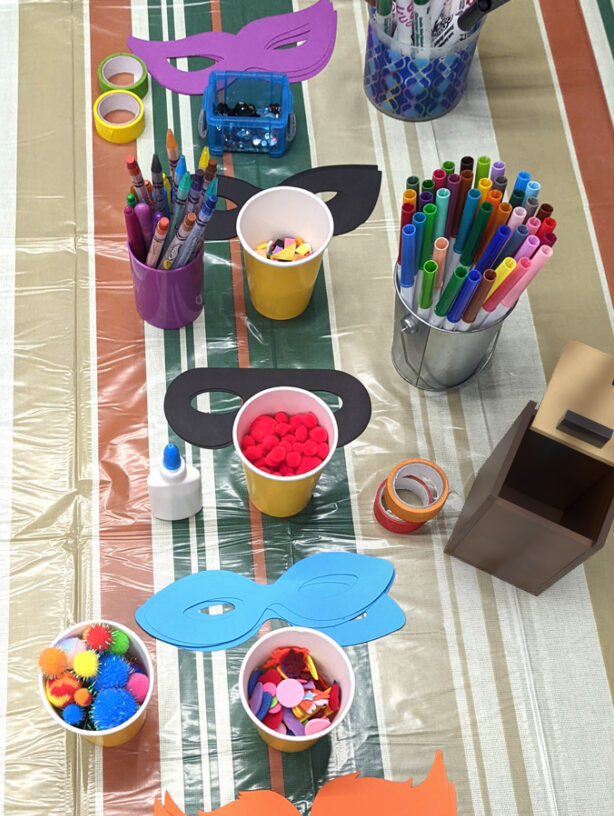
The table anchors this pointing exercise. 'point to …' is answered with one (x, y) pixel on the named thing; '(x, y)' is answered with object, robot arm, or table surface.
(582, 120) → the table surface
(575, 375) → the box lid
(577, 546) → the craft box
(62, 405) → the table surface
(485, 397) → the table surface
